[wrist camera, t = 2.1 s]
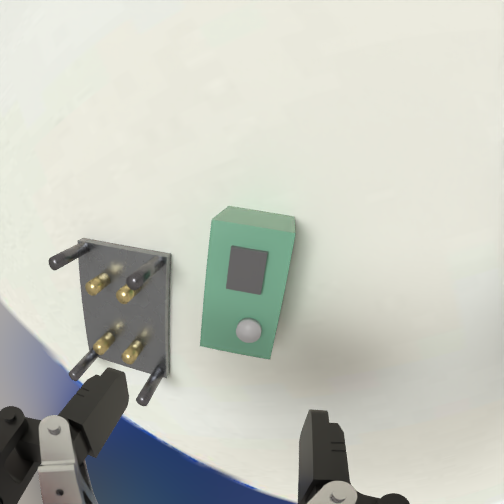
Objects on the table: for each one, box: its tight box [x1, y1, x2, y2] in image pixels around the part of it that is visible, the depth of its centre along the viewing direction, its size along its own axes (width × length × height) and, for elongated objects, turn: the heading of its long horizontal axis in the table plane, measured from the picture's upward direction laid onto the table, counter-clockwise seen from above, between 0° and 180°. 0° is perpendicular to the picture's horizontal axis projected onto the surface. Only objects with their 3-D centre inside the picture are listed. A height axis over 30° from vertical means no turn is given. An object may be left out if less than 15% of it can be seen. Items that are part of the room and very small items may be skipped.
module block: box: [200, 206, 296, 359], centre depth 24 cm, size 10×6×7 cm, turn 172°
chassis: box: [49, 238, 171, 406], centre depth 27 cm, size 14×10×6 cm
